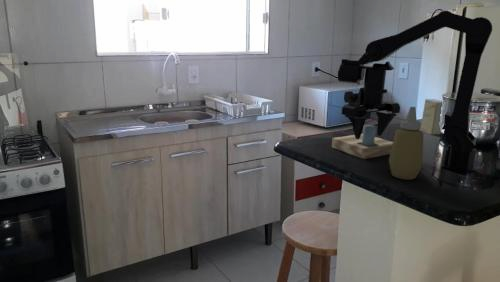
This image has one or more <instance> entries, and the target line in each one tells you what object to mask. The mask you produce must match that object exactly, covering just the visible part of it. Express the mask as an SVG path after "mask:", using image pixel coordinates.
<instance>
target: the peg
mask: <svg viewBox="0 0 500 282" xmlns="http://www.w3.org/2000/svg"><path fill="white" fill-rule="evenodd" d="M376 128H377V126H376V125H373V124H364V126H363V130H362V134H363V138H362V145H363V146H366V147H372V146H374V140H375V137H376V132H377V129H376Z"/></svg>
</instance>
